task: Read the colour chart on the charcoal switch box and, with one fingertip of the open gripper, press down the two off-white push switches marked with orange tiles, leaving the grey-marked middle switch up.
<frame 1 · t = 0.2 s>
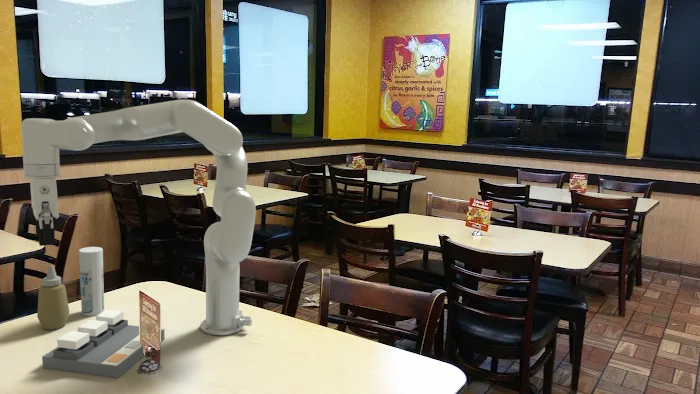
hand: (45, 240, 130), 31 cm above the table, tool pointing down, fingers open, 9 cm apart
spray can: (93, 312, 164), on the table
switch box: (107, 352, 139), on the table
squeeze bottle: (54, 326, 153), on the table
switch 1: (110, 317, 146), point 6 cm above the table, slide at 0.0 cm
switch 2: (92, 327, 138), point 6 cm above the table, slide at 0.0 cm
switch 3: (73, 340, 131), point 6 cm above the table, slide at 0.0 cm
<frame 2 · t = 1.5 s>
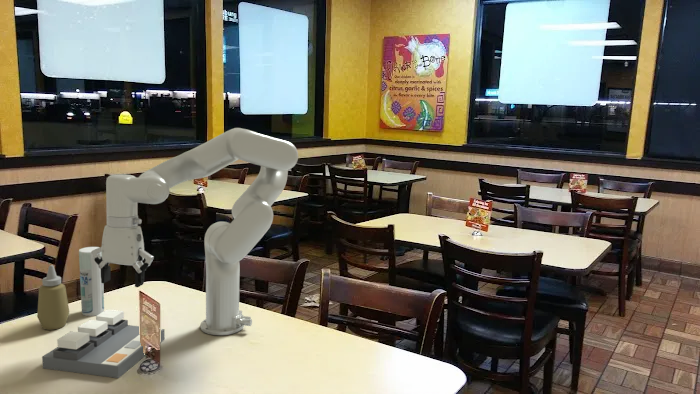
hand: (122, 283, 143), 16 cm above the table, tool pointing down, fingers open, 9 cm apart
nothing on the table moved.
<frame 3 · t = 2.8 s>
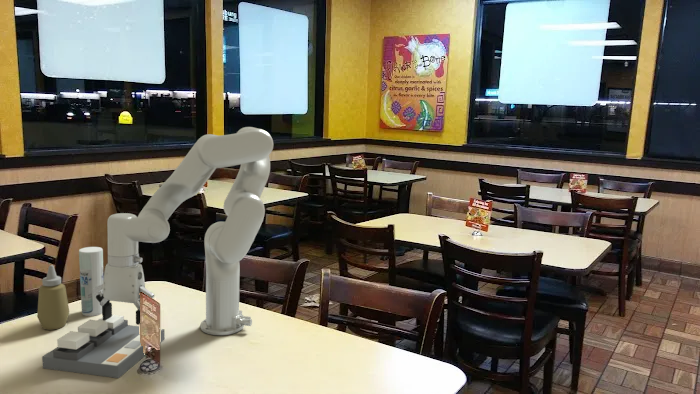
hand: (123, 320, 145), 6 cm above the table, tool pointing down, fingers open, 9 cm apart
switch 1: (110, 321, 146), point 5 cm above the table, slide at 1.4 cm, touching gripper
everything else where it was.
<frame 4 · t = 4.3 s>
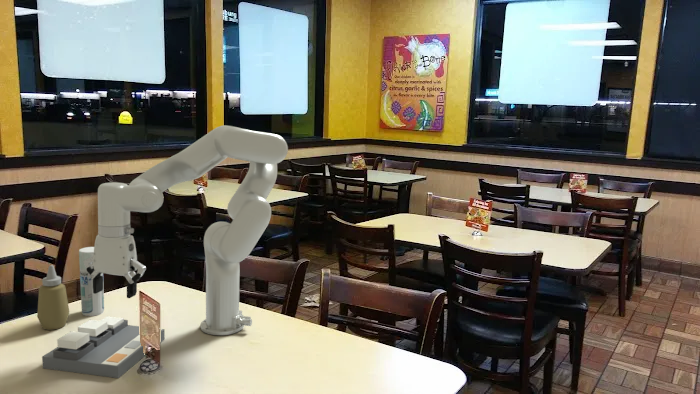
hand: (114, 294, 140), 15 cm above the table, tool pointing down, fingers open, 9 cm apart
switch 1: (110, 324, 146), point 4 cm above the table, slide at 2.1 cm
everything else where it was.
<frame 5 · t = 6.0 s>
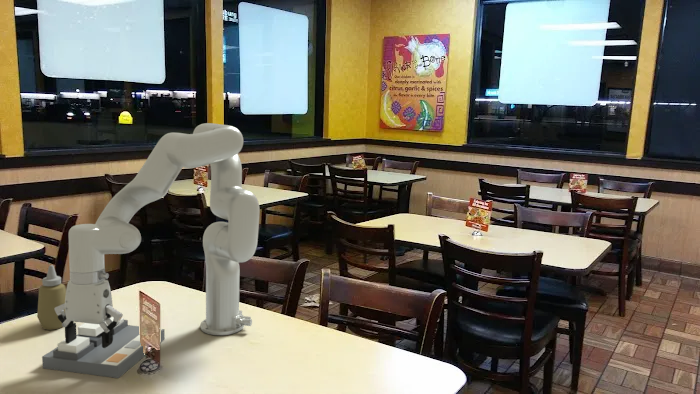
hand: (89, 343, 130), 6 cm above the table, tool pointing down, fingers open, 9 cm apart
switch 3: (73, 344, 131), point 5 cm above the table, slide at 1.2 cm, touching gripper
everything else where it was.
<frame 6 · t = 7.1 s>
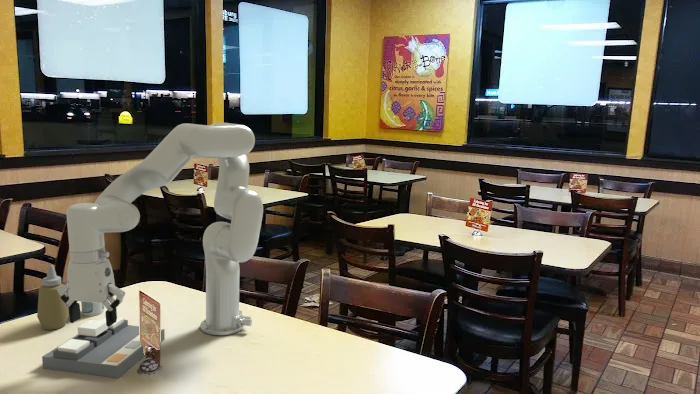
hand: (93, 322, 130), 11 cm above the table, tool pointing down, fingers open, 9 cm apart
switch 3: (73, 347, 131), point 4 cm above the table, slide at 2.1 cm
everything else where it was.
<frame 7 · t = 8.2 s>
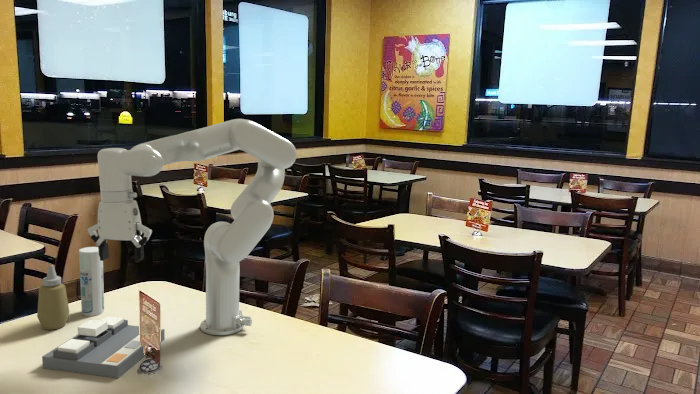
hand: (121, 260, 140), 23 cm above the table, tool pointing down, fingers open, 9 cm apart
nothing on the table moved.
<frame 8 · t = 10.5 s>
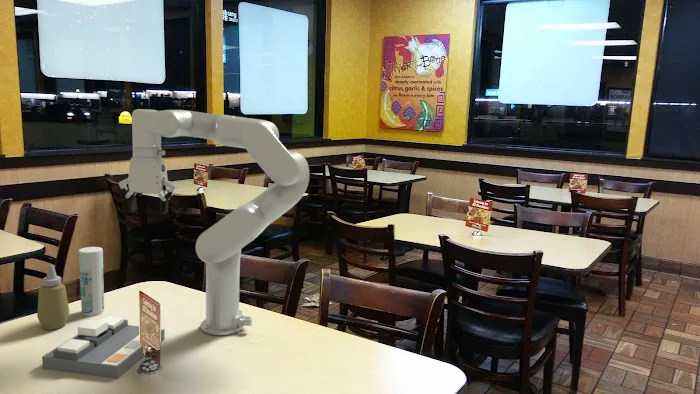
hand: (148, 212, 154), 33 cm above the table, tool pointing down, fingers open, 9 cm apart
nothing on the table moved.
at the end: switch 1 slide at 2.1 cm; switch 2 slide at 0.0 cm; switch 3 slide at 2.1 cm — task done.
